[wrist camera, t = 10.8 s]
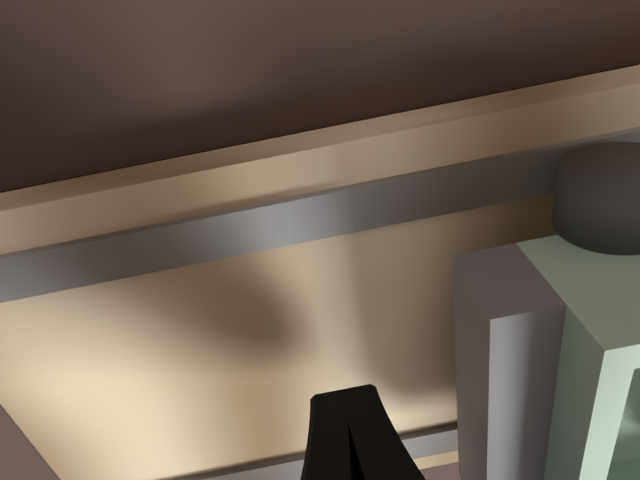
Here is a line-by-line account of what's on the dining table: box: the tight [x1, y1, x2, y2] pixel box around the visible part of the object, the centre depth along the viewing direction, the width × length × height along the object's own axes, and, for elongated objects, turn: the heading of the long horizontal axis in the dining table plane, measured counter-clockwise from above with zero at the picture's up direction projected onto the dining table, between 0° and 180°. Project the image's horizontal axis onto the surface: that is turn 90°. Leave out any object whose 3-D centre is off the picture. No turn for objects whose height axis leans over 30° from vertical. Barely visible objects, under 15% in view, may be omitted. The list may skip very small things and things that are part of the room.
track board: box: [0, 65, 640, 480], centre depth 11 cm, size 24×11×4 cm, turn 100°
